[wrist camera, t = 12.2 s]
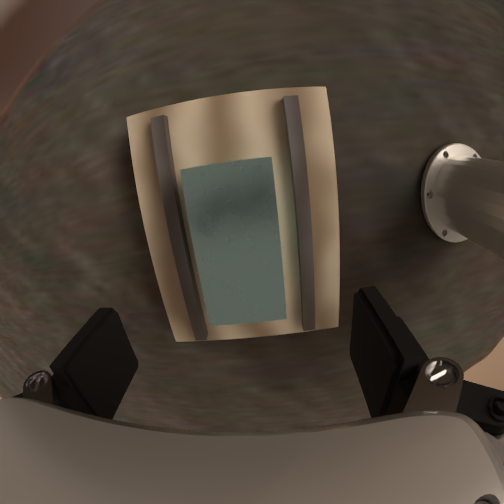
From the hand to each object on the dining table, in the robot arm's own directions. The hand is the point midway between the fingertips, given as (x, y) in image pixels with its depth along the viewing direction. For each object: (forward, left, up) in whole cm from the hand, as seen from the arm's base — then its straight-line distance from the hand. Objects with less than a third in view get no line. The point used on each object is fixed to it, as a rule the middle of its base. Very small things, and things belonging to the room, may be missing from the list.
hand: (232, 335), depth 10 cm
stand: (+1, 0, -20) cm, 20 cm away
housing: (0, 0, -16) cm, 16 cm away
